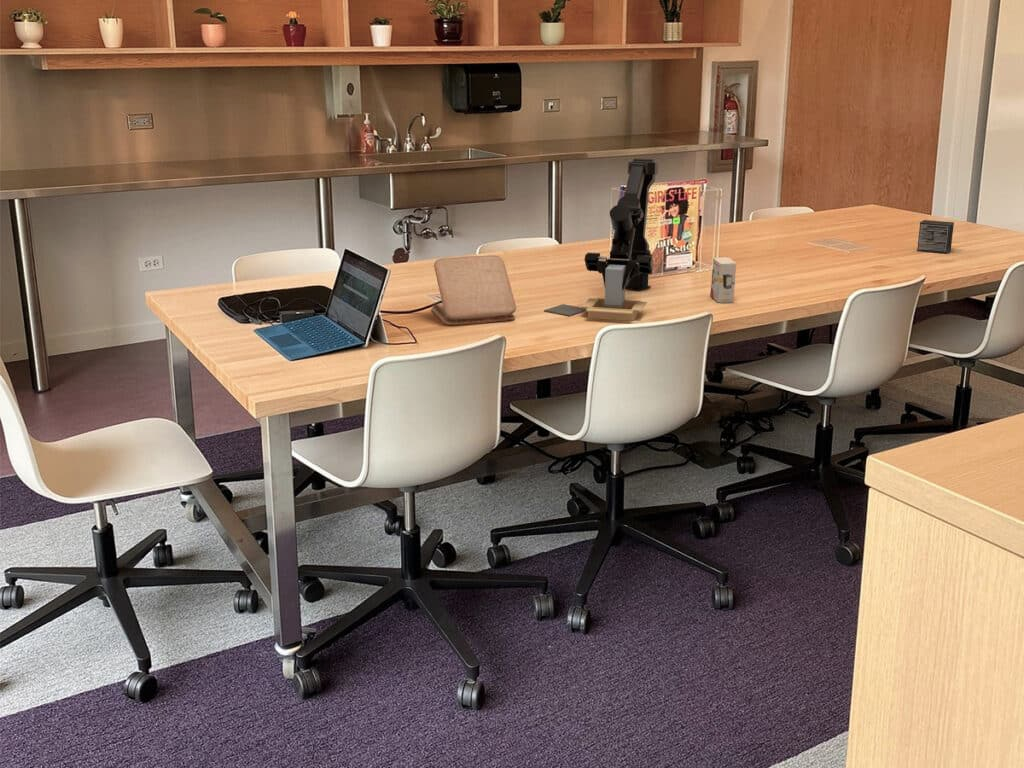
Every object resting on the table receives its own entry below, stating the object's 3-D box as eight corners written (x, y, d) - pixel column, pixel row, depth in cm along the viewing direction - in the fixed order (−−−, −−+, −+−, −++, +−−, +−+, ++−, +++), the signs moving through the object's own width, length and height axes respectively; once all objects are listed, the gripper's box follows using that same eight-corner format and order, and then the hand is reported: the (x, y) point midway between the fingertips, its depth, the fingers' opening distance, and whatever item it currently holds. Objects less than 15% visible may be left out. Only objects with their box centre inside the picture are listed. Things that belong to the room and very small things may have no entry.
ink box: (709, 296, 333) (711, 257, 329) (726, 295, 333) (728, 256, 330) (717, 303, 325) (719, 263, 321) (734, 302, 325) (737, 262, 321)
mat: (563, 305, 323) (563, 304, 323) (588, 310, 318) (588, 308, 317) (544, 311, 316) (544, 310, 316) (569, 316, 311) (569, 315, 311)
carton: (592, 304, 323) (592, 295, 322) (649, 308, 319) (649, 298, 318) (578, 319, 307) (578, 309, 306) (638, 324, 303) (638, 313, 302)
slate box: (608, 309, 316) (609, 264, 312) (624, 310, 315) (625, 265, 311) (604, 314, 311) (605, 268, 307) (620, 315, 310) (621, 269, 306)
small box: (951, 251, 395) (955, 221, 392) (947, 254, 390) (951, 224, 387) (920, 248, 401) (923, 219, 397) (916, 251, 395) (919, 221, 392)
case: (445, 328, 301) (444, 269, 296) (429, 309, 320) (428, 254, 315) (518, 322, 307) (518, 265, 302) (497, 304, 326) (497, 250, 321)
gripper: (658, 259, 321) (650, 306, 314) (594, 256, 326) (585, 301, 319) (654, 237, 311) (646, 284, 304) (588, 234, 316) (579, 280, 309)
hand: (614, 288), depth 310 cm, fingers closed on slate box, 4 cm apart
